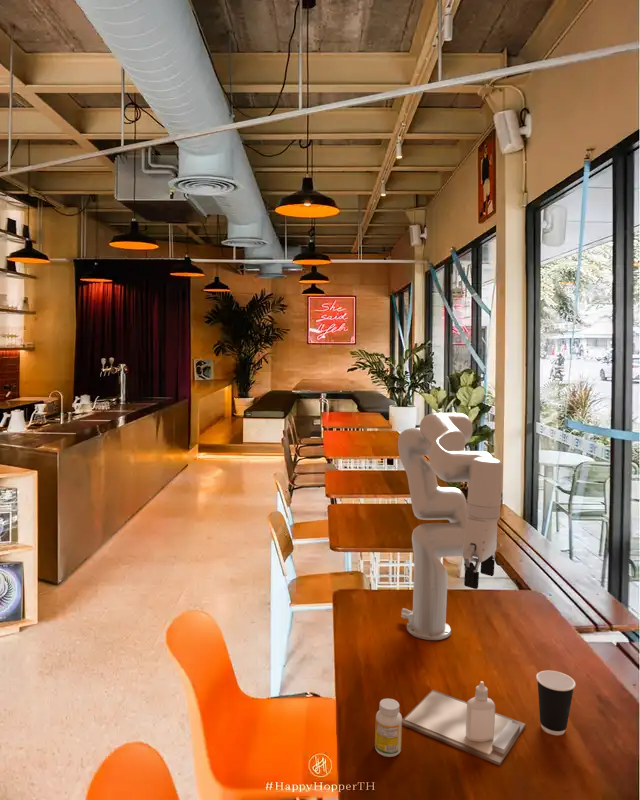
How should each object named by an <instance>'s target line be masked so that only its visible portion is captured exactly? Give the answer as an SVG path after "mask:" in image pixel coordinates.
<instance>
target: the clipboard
mask: <svg viewBox="0 0 640 800" xmlns="http://www.w3.org/2000/svg"><path fill="white" fill-rule="evenodd" d="M467 702H468V701H465V700H462V699H459V698H456V697H454V696H451V695H449V694H445V693H443V692H440V691H438V690H436V689H432V690H430V691H429V692H428V694H426V695H425V696H424V697H423V699H421V700H420V701H419V703H417V704H416V705H415V707H414V708H412V710H411V711H409V712H408V713H407V715H405V716H404V717H402V726H404V727H406V728H409V729H411V730H413V731H416V732H418V733H421V734H423V735H425V736H428V737H430V738H433V739H435V740H437V741H440V742H443V743H445V744H447V745H449V746H452V747H454V748H457V749H458V750H462V751H464V752H466V753H469V754H471V755H474V756H476V757H478V758H480V759H483V760H485V761H488V762H489V763H492V764H495V765H497V766H499V767H500V766H501V765H502V763H503V762H504V760H505V758H506V757H507V755H508V754H509V753H510V751H511V750H512V748H513V746H514V745H515V744H516V741H518V739H519V737H520V735H521V734H522V733H523V731H524V730H525V728H526V723H525V722H522V721H519V720H516V719H513V718H511V717H508V716H505V715H502V714H500V713H497V712H495V725H494V738H493V739H492V740H490V741H486V742H475V741H471V740H469V739H468V737H467V735H466V714H467Z"/></svg>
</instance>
